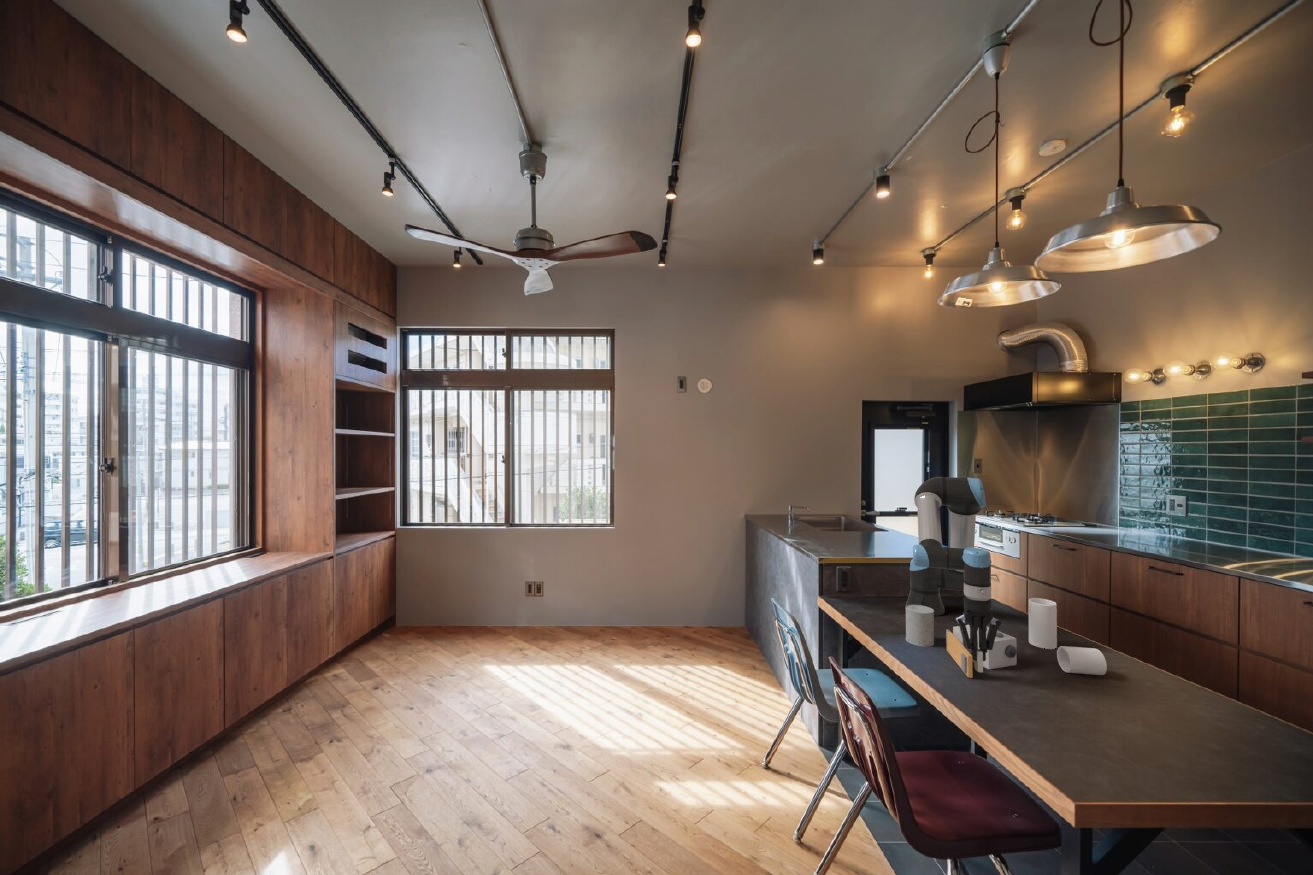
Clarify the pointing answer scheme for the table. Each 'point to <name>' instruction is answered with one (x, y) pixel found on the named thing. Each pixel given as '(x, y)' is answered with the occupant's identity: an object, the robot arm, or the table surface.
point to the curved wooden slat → (959, 653)
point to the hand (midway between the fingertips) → (978, 670)
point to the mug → (1081, 660)
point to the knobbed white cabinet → (994, 649)
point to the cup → (1043, 623)
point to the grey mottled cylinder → (920, 625)
